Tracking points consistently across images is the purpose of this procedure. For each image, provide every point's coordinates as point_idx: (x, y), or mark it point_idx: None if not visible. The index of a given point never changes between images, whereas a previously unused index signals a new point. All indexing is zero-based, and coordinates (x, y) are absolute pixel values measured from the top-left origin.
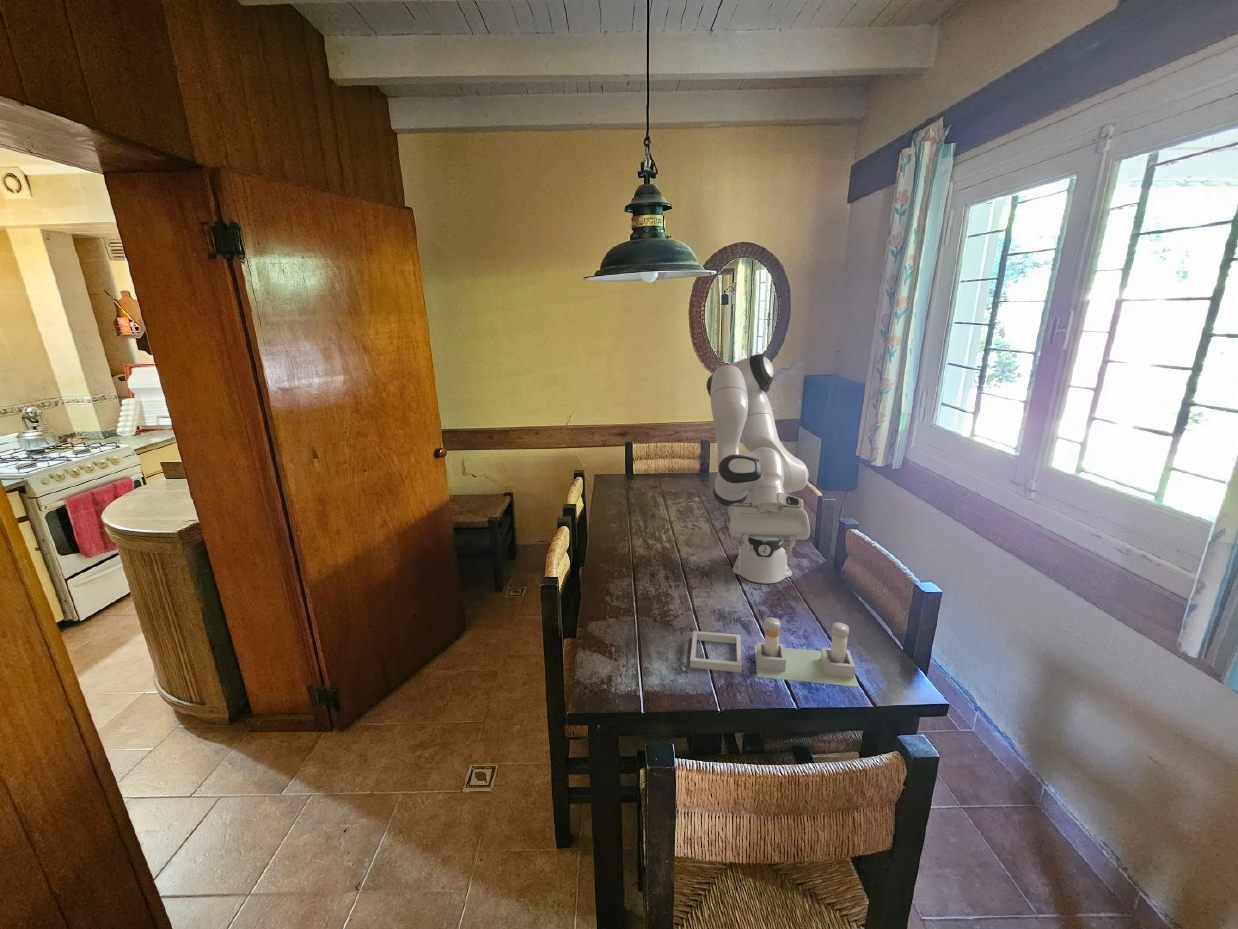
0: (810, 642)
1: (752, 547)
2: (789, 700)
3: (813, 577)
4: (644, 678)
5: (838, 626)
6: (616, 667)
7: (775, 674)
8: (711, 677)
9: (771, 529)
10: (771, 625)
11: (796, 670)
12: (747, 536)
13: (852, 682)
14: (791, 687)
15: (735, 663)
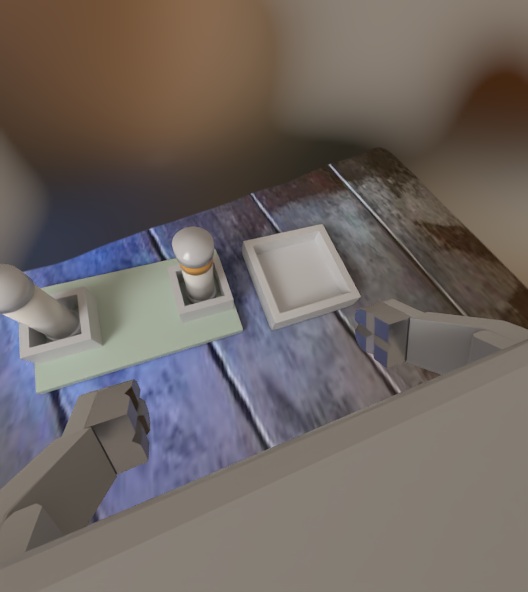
0: None
1: (376, 314)
2: (159, 234)
3: None
4: (360, 206)
5: (1, 285)
6: (404, 211)
7: None
8: None
9: (338, 485)
10: (193, 228)
11: (151, 288)
12: (490, 339)
13: None
14: (159, 261)
15: (254, 241)
